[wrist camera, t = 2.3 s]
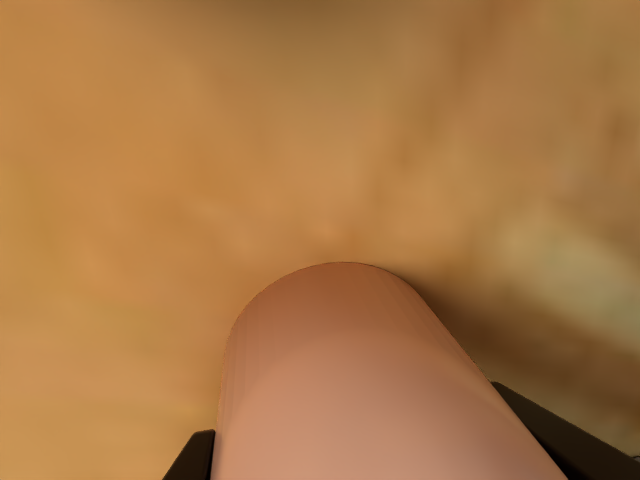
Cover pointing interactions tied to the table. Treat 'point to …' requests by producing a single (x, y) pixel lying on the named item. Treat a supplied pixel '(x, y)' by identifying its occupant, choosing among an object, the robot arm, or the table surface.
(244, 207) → the table surface
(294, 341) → the cup
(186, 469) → the robot arm
